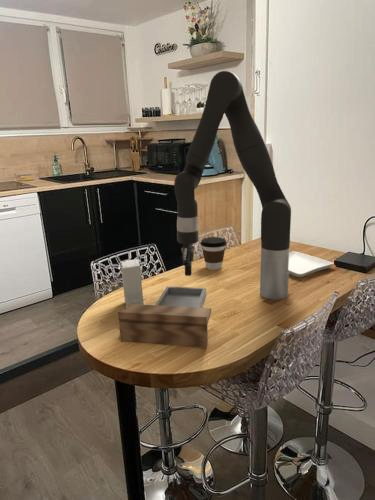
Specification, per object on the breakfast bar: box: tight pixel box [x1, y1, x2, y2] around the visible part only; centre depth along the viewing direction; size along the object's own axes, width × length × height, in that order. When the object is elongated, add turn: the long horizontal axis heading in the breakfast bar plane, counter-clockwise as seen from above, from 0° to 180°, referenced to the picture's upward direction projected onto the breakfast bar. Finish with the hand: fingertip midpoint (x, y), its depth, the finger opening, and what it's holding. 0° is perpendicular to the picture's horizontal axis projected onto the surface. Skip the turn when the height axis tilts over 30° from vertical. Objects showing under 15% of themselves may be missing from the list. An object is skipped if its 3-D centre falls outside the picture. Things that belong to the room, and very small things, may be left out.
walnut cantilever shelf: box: [117, 304, 212, 349], centre depth 106 cm, size 24×10×9 cm, turn 79°
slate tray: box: [155, 285, 207, 308], centre depth 126 cm, size 14×18×3 cm
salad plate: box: [288, 250, 335, 278], centre depth 158 cm, size 21×21×3 cm
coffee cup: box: [199, 236, 228, 271], centre depth 160 cm, size 11×11×12 cm
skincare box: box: [120, 259, 145, 309], centre depth 126 cm, size 8×6×15 cm
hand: (188, 274), depth 139 cm, fingers closed
